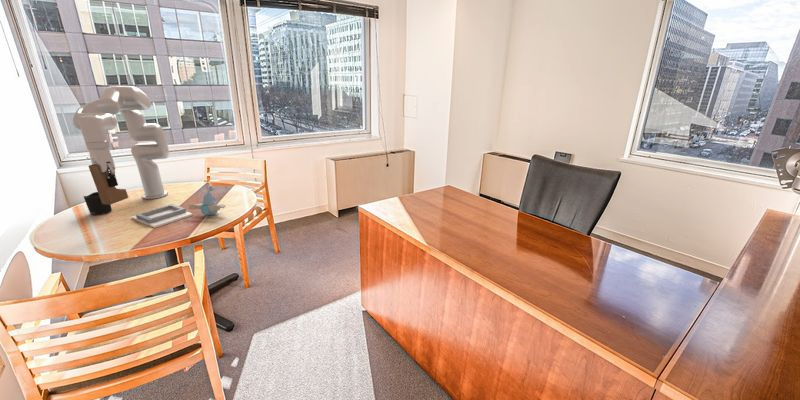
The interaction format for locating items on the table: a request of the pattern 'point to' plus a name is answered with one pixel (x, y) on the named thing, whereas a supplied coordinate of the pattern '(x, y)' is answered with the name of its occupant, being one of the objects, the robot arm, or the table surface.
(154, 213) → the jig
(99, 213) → the pen holder
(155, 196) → the robot arm
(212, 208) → the toy figure
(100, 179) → the wooden block
